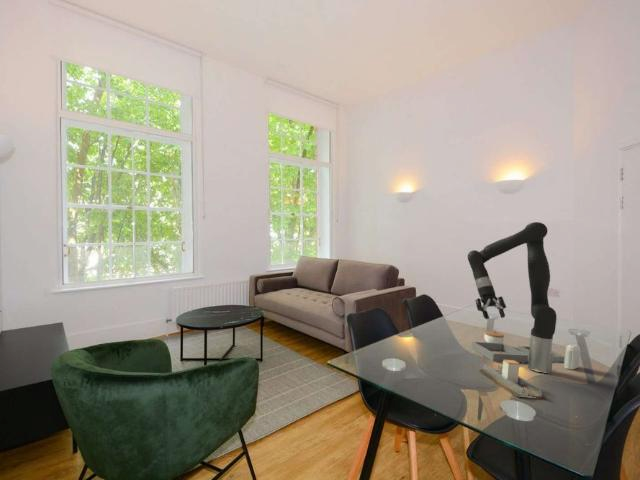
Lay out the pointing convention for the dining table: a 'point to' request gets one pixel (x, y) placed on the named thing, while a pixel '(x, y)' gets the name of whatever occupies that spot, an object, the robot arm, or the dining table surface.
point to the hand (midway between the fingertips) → (495, 318)
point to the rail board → (508, 384)
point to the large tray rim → (512, 353)
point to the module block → (511, 370)
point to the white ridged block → (572, 357)
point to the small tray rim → (556, 356)
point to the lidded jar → (493, 337)
